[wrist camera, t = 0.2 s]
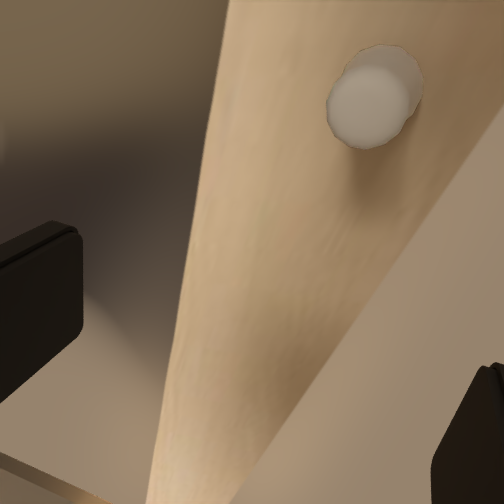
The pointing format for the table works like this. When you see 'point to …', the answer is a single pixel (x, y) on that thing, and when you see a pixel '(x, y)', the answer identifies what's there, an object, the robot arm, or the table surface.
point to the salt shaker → (374, 96)
